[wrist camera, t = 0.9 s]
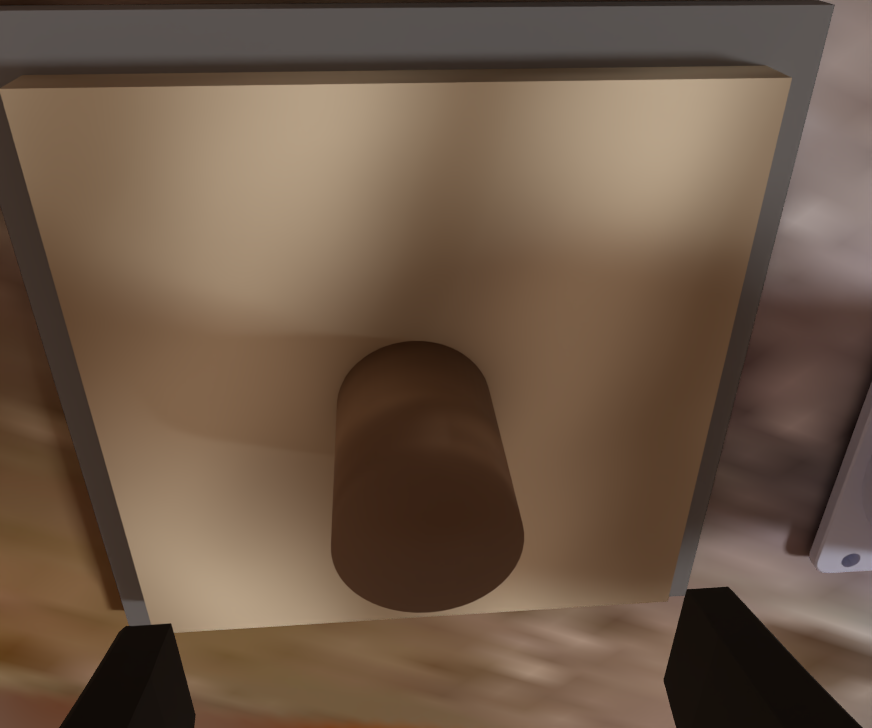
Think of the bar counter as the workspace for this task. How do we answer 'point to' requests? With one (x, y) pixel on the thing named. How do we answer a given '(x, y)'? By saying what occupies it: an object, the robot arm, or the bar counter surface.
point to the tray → (396, 50)
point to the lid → (399, 324)
